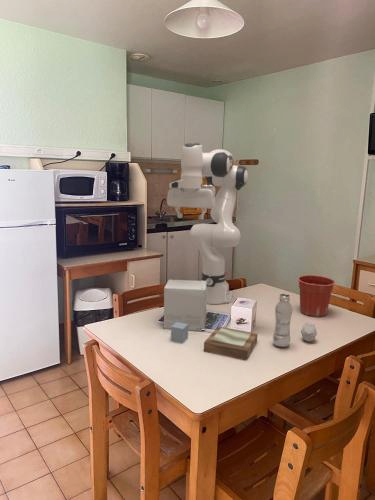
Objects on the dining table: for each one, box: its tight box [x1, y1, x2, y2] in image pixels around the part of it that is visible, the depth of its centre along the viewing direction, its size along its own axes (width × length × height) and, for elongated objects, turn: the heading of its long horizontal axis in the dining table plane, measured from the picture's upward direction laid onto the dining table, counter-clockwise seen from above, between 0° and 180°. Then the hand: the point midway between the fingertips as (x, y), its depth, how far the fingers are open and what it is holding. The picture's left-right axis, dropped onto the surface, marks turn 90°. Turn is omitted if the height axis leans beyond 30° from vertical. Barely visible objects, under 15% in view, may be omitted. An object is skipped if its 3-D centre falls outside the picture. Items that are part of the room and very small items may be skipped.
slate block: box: [170, 322, 189, 344], centre depth 147 cm, size 5×5×6 cm
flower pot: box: [297, 274, 336, 318], centre depth 177 cm, size 16×16×16 cm
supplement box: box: [163, 279, 207, 332], centre depth 161 cm, size 17×13×18 cm
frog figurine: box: [300, 322, 318, 342], centre depth 148 cm, size 6×7×7 cm
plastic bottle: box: [272, 293, 294, 348], centre depth 142 cm, size 6×7×20 cm
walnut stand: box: [203, 326, 259, 361], centre depth 142 cm, size 16×16×4 cm
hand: (190, 218), depth 155 cm, fingers open, 8 cm apart
